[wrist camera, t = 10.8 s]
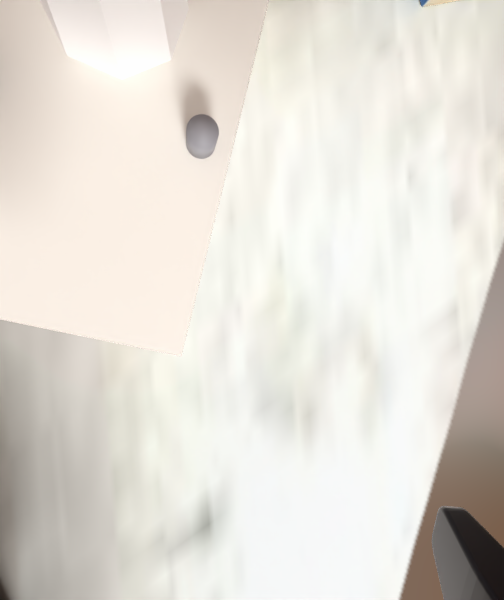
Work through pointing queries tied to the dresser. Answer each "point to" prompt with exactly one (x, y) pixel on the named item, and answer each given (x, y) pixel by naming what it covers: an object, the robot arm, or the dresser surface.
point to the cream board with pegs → (116, 174)
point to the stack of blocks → (434, 2)
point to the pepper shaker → (118, 32)
